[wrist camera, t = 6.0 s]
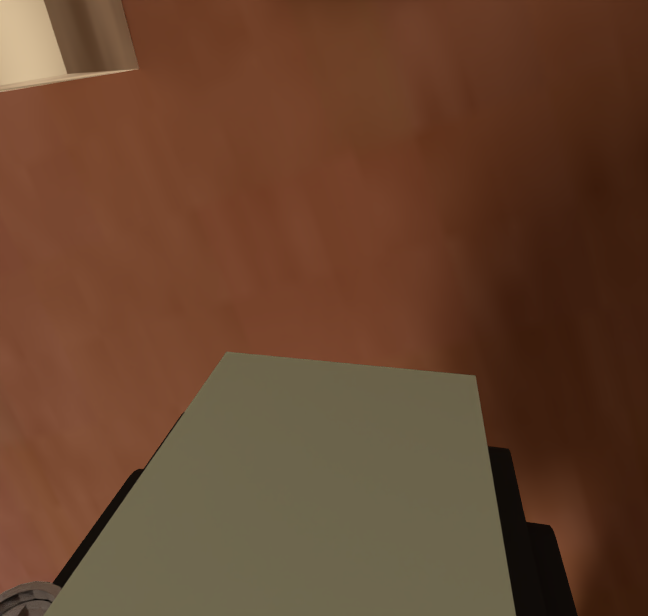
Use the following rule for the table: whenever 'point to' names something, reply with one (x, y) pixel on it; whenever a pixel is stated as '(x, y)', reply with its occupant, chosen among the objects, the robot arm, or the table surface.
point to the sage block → (308, 502)
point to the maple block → (62, 41)
